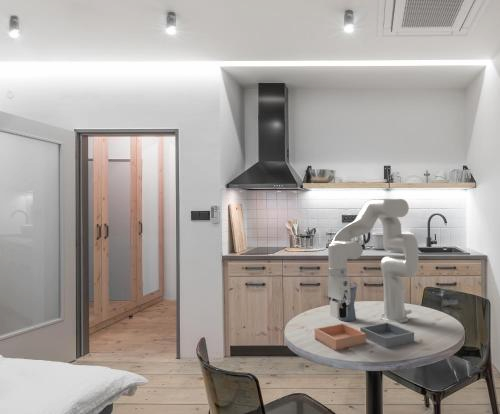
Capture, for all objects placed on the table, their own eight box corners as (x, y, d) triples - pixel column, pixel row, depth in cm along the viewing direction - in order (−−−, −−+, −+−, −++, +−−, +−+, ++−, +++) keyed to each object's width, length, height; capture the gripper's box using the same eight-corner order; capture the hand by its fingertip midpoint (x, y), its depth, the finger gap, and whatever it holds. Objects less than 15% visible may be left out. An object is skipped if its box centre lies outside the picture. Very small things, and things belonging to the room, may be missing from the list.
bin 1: (343, 333, 165) (342, 323, 165) (366, 344, 151) (365, 333, 151) (314, 338, 159) (314, 328, 159) (335, 351, 145) (335, 339, 145)
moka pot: (348, 324, 177) (347, 282, 177) (329, 316, 191) (328, 277, 191) (364, 321, 181) (363, 280, 181) (344, 313, 195) (343, 275, 195)
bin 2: (387, 332, 165) (387, 322, 165) (414, 343, 151) (414, 332, 151) (360, 337, 159) (360, 327, 159) (386, 349, 145) (385, 338, 145)
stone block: (340, 313, 158) (339, 299, 158) (347, 316, 154) (347, 302, 154) (330, 315, 156) (330, 301, 156) (337, 318, 152) (337, 303, 152)
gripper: (358, 274, 149) (359, 319, 149) (333, 268, 164) (333, 309, 164) (343, 276, 146) (344, 322, 146) (318, 270, 161) (319, 311, 161)
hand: (338, 315), depth 155 cm, fingers closed on stone block, 5 cm apart
